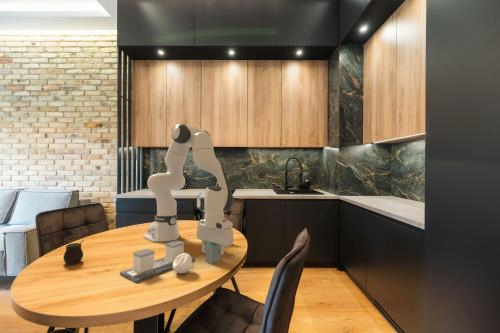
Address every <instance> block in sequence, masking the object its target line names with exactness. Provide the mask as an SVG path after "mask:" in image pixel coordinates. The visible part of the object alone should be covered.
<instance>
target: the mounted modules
mask: <svg viewBox="0 0 500 333" xmlns="http://www.w3.org/2000/svg"><path fill="white" fill-rule="evenodd" d="M184 245H185V243H184V242H183V241H180V240H172V241H169V242H167V243H165V256H164V257H165V259H166V260H169V261H174V260H175V259H176V257H177V256H178V255H180V254H183V253H185V252H184V251H185V250H184V249H185V247H184ZM132 254H133V263H132V264H133V267H132V268H133V270H134V271H136V272H138V273H142V272H144V271H147V270H150V269H153V268H154V261H155V250H152V249H150V248H145V249H141V250H138V251H134V252H133V253H132Z"/></svg>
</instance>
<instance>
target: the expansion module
mask: <svg viewBox="0 0 500 333" xmlns="http://www.w3.org/2000/svg"><path fill="white" fill-rule="evenodd" d="M221 248H222V247H221V245H220V244H216V243H212V242H211V243H208V244H206V253H205V263H206V264H210V265H213V264H216V263H218V262H220V261H222V255H221V254H219V250H221Z"/></svg>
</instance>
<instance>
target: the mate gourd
mask: <svg viewBox="0 0 500 333" xmlns="http://www.w3.org/2000/svg"><path fill="white" fill-rule="evenodd" d="M84 241H85V239H82V241H80V242H73V243H68V244H66V245H65V251H64V254H63V261H64V264H67V265H77V264H79V263H80V262H81V261H82V260H83V257H84V252H83V250H82V243H83V242H84Z"/></svg>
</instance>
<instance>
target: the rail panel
mask: <svg viewBox="0 0 500 333" xmlns="http://www.w3.org/2000/svg"><path fill="white" fill-rule="evenodd" d="M165 257H166V256H164V257H162V258H159V259H156V260H155V259H154V268H153V269H150V270H147V271H144V272H142V273H138V272H136V271H134V270H133V267H131V268H129V269H125V270H122V271H120V272H119V275H120V276H122V277H124V278H126V279H128V280H130V281H132V282H134V283H136V284H138V283H140V282H141V283H142V282H143V281H146V280H148V279H151V278H153V277H156V276H158V275H161V274H163V273H164V274H165V273H166V272H169V271H172V270H174V269H173V265H172V264H173V262H174V261H169V260H166V259H165ZM191 258H192V263H194V262H195V258H194V257H191Z"/></svg>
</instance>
